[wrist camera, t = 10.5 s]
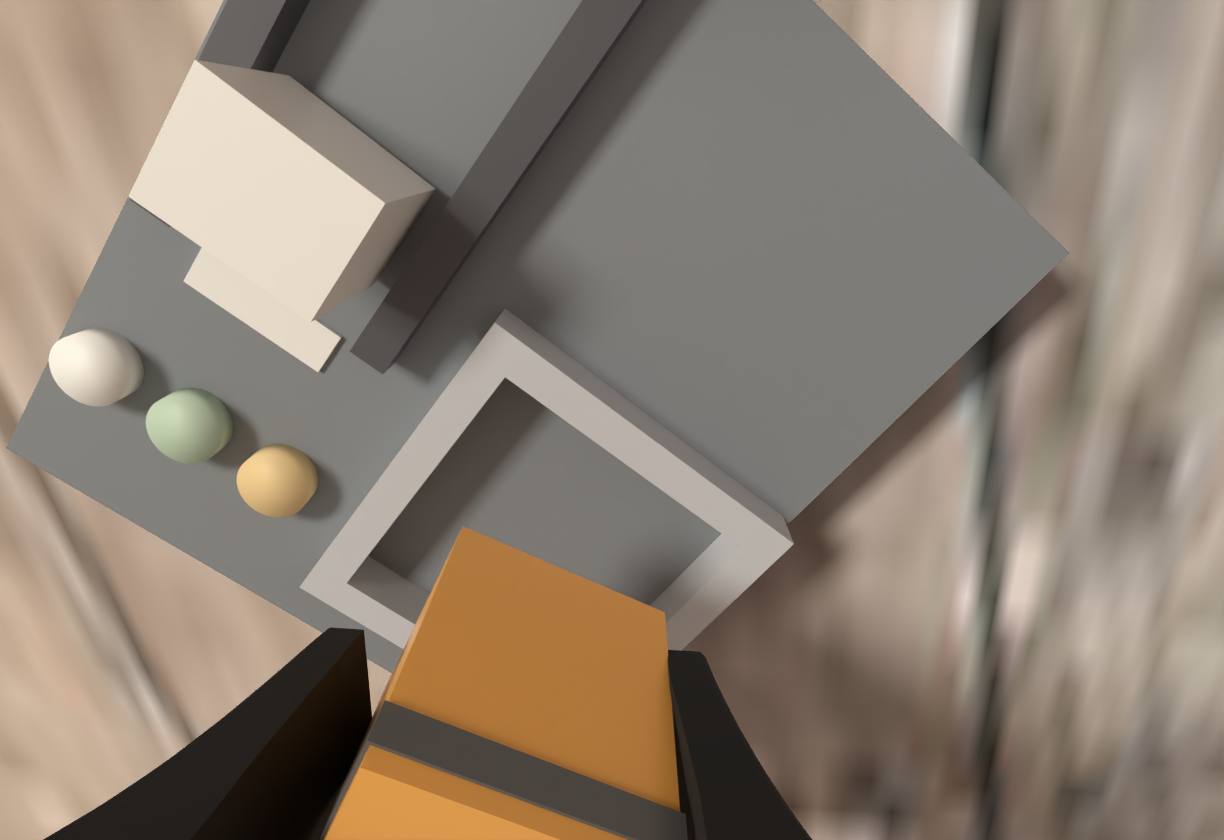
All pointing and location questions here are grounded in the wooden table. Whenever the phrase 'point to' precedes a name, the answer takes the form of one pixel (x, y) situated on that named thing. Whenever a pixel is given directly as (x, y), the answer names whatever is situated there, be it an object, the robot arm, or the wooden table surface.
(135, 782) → the robot arm
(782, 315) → the breaker panel
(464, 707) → the cap
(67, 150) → the wooden table surface
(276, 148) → the switch
